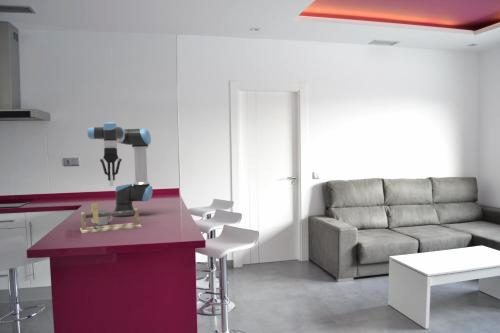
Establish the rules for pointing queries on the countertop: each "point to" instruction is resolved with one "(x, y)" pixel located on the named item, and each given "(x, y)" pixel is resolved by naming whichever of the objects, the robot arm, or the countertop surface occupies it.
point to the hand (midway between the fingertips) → (111, 185)
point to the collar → (94, 213)
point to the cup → (103, 218)
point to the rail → (110, 227)
